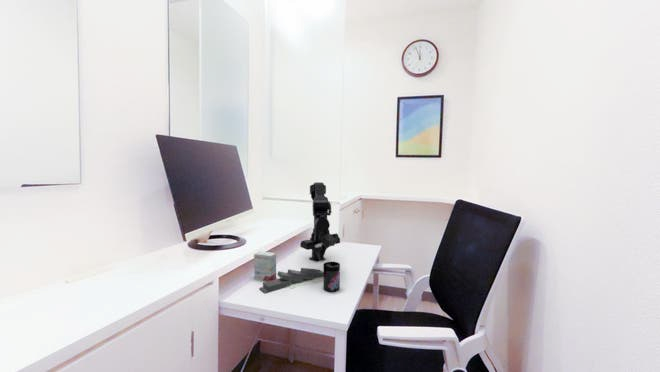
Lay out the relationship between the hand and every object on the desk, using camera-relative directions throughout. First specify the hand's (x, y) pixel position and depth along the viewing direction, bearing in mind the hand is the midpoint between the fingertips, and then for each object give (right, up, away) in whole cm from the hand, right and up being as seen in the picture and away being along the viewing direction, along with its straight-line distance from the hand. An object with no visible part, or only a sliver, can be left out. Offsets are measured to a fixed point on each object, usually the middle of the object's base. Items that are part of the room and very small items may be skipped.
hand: (320, 260), depth 130 cm
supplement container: (+5, -8, -14) cm, 17 cm away
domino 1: (-14, -6, -10) cm, 18 cm away
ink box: (-24, -7, -5) cm, 26 cm away
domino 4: (-5, -6, -3) cm, 8 cm away
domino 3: (-9, -6, -6) cm, 12 cm away
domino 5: (+1, -6, +1) cm, 6 cm away
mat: (-5, -7, -3) cm, 9 cm away
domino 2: (-15, -8, -11) cm, 20 cm away
